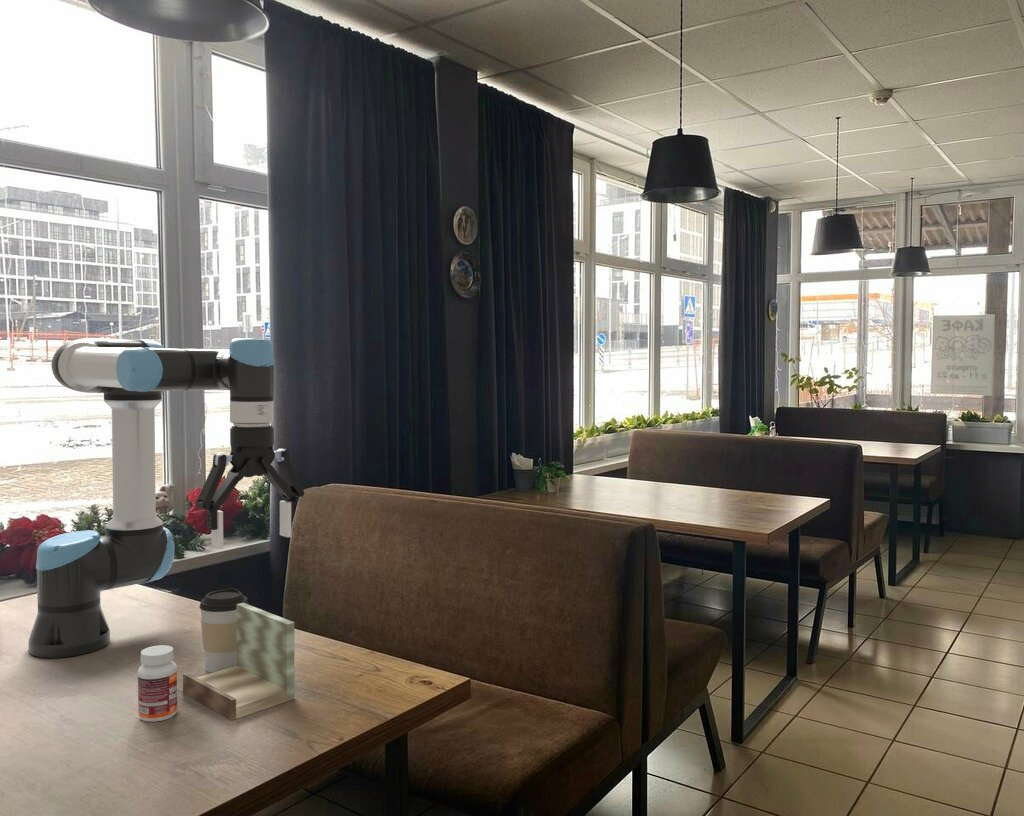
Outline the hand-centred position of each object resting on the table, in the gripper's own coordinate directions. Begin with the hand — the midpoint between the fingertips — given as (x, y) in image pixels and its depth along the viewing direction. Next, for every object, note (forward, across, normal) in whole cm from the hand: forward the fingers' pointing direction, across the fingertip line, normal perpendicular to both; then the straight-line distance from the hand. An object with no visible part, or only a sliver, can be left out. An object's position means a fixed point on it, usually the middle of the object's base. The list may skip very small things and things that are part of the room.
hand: (252, 541), depth 149 cm
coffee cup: (+28, +3, +15) cm, 32 cm away
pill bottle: (+28, -16, +3) cm, 33 cm away
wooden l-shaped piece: (+28, -3, +1) cm, 28 cm away
